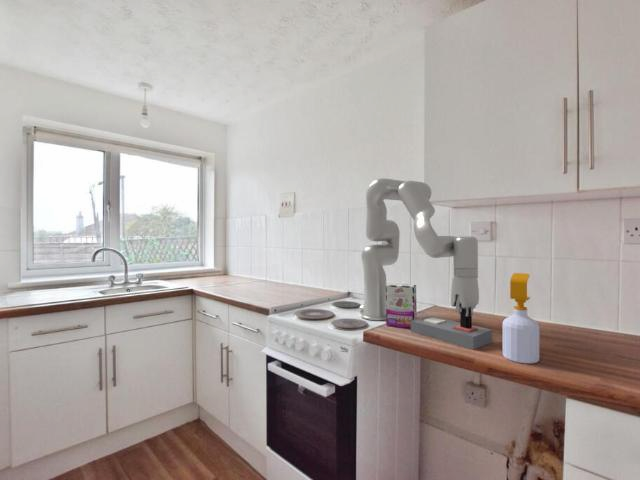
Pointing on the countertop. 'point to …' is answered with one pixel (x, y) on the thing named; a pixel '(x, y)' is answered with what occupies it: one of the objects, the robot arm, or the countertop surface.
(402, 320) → the candy bar box
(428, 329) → the key console
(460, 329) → the brick-red key
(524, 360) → the soap bottle
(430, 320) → the ivory key
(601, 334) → the countertop surface
